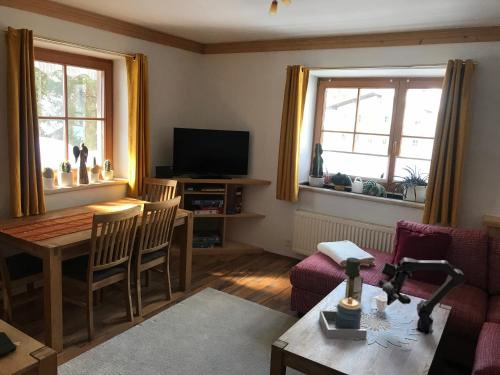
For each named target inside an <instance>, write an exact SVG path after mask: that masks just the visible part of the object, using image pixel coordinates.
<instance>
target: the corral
mask: <svg viewBox="0 0 500 375" xmlns="http://www.w3.org/2000/svg"><path fill="white" fill-rule="evenodd" d="M336 311H337V310H331V309H330V310H327V309H323V310H322V309H320V310H319V318H318V319H319V321H320V324H321V326H322V329H323V332H324V334H325V336H326V339H332V340H333V339H335V340H336V339H337V340H343V339H344V340H367V336H368V330H367V329H365V328H363V329H362V328H360V329H336V328H335V327H333V328H330V327H329V324H328V321H327V320H329V321H331V320H332V321H334V320H333V319H336Z"/></svg>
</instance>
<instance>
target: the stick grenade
mask: <svg viewBox="0 0 500 375" xmlns="http://www.w3.org/2000/svg"><path fill="white" fill-rule="evenodd" d="M345 263H346V265H345V271H344V274H345V276H346V277H347V276H349V289H348V298H349V297H351V298H352V296H353V286H354V280H355V277H359V276H361V274H360V270H361V269H360V268H361V260H360V259H359V258H356V257H347V258H346V262H345Z"/></svg>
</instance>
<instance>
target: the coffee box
mask: <svg viewBox="0 0 500 375" xmlns="http://www.w3.org/2000/svg"><path fill="white" fill-rule="evenodd" d="M363 285H364V277H363V276H362V275H360V276H359V277H355V280H354V286H353V296H352V299H354V300H356V301H357V302H359V303H360V304H361V302H362V296H363V295H362V294H363ZM348 289H349V276H347V275H346V282H345V293H344V294H345V296H344V297H345V298H348Z"/></svg>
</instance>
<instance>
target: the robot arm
mask: <svg viewBox="0 0 500 375" xmlns="http://www.w3.org/2000/svg"><path fill="white" fill-rule="evenodd" d="M417 270H443V271H445V272H446V273H447V274H448V275H447V277H446V280H445V281H444V283H443V284H442V285H441V286H440V287H439V288H438V289H437V290H435V292H433V293H432V295H431V296H430V297H428V298H427V299H426V300H423V299H421V301H420V302H419V303H417V305H416V313H417V316H418V317H419V318H418V320H417V323H416V324H417V325H416V329H415V330H416V331H419V332H421V333H423V334H425V335H429V334H431V333H432V332H434V330H433V325H434V318H433V316H432V313H433V310H434V309H435V307H436V306H437V305H438V304H439V303H440V302H441V301H442V300H443V299H444V298H445V297H446V296H447V295H448V294H449V293H450V292H451V291H453V289H454V288H456V287H457V288H458V287H459V286H461V285H463V283H464V282H465V281H466V276H465V275H464V273H463V271H462V270H460V269H459V268H456V267H454V265H452V264H451V263H449V262H448V261H447V260H445V259H444V260H443V259H442V260H430V259H429V260H427V259H426V260H418V259H414V258H411V257H403V258H402V259H400V261H398V262H396V263H394V264H392V263H390V262H388V261H385V262H384V263H383V265H382V266H381V270H380V274H382V275H384V276H387V277H390V278H392V279H391V280H390V281H387V280H386V279H382V280H378V282H377V285H378V286H379V287H381V288H382V291H383V292H384V293H386V295H387V296H386V297H387V306H390V305H392V304H393V303H394V302H395V301H397V300H398V301H399V302H400V303H401V304H402V305H411V302H412V300H411V298H410V297H409V296H407V295H406V294H402V292H403V289H402V288H403V287H405V286H406V284H405V283H406V280H407V279H408V277H410V278H413V276H412V272H414V271H417Z"/></svg>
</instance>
